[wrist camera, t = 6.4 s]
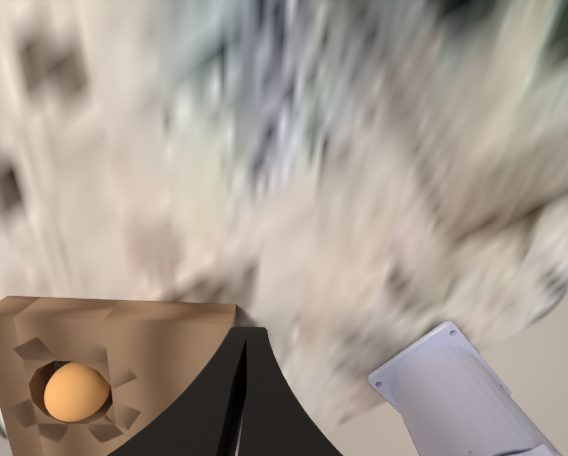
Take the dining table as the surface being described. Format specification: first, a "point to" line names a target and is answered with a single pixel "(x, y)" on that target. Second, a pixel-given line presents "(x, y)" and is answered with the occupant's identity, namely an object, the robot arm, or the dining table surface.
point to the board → (100, 365)
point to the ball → (75, 392)
